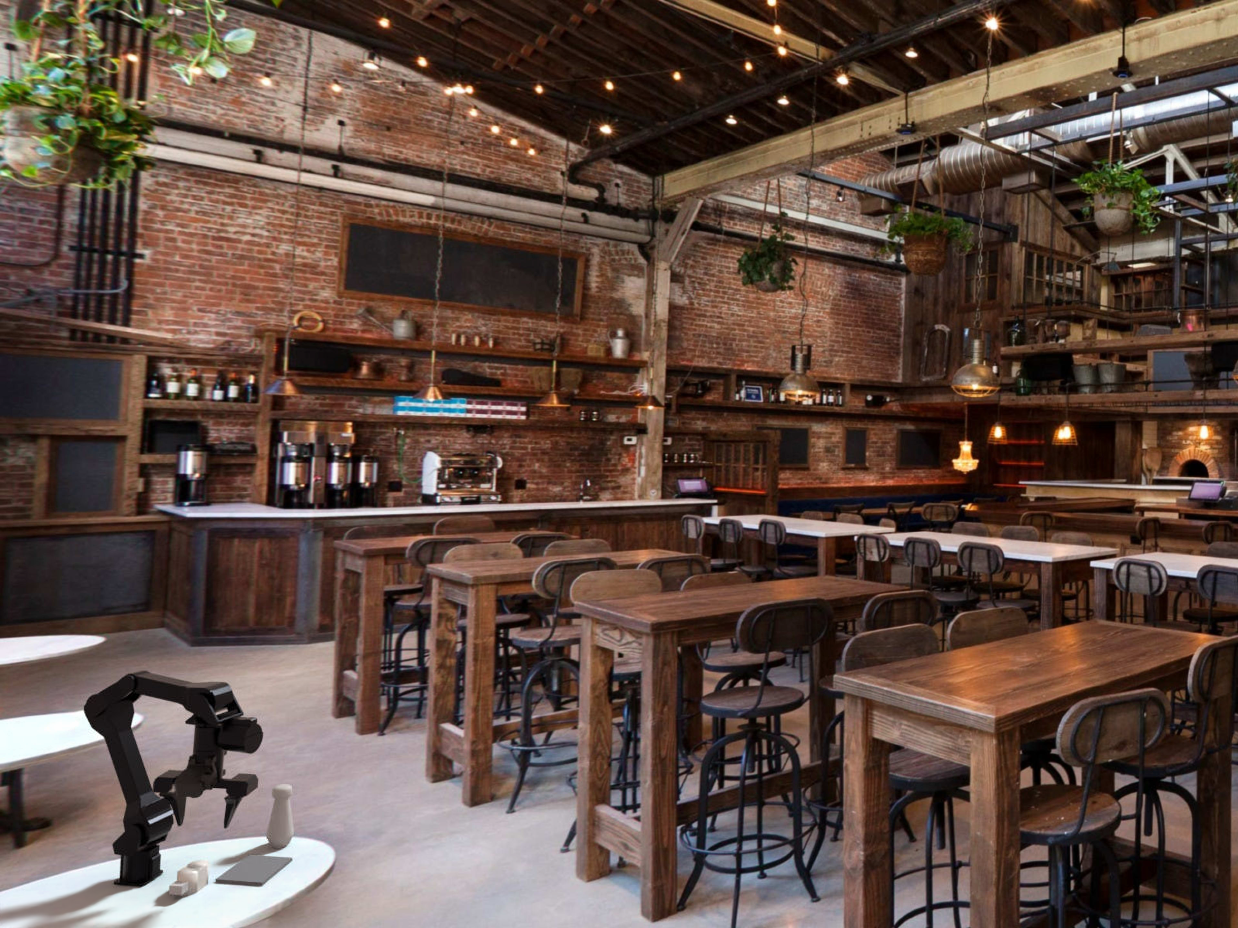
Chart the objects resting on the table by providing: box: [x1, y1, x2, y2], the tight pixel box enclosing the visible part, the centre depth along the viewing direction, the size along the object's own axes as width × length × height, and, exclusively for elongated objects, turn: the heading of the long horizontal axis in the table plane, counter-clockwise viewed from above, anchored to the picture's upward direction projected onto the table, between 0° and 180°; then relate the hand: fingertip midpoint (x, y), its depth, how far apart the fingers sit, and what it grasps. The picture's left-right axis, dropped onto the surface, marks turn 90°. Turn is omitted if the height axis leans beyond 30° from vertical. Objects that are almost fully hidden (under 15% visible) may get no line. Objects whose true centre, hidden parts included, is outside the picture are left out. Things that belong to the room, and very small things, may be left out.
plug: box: [168, 859, 210, 897], centre depth 162 cm, size 9×4×4 cm, turn 174°
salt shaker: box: [265, 783, 295, 849], centre depth 185 cm, size 6×6×13 cm
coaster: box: [215, 854, 293, 886], centre depth 171 cm, size 10×12×1 cm
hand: (203, 826), depth 164 cm, fingers open, 9 cm apart
